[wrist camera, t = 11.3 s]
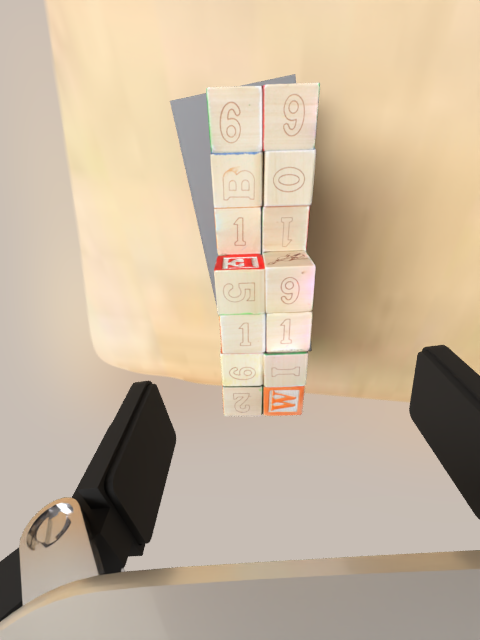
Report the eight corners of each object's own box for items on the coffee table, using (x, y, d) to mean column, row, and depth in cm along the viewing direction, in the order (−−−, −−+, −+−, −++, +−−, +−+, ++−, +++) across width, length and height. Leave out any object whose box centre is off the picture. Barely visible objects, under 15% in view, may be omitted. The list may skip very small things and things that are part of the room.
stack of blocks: (218, 113, 23) (197, 64, 12) (295, 110, 23) (343, 60, 12) (229, 337, 33) (222, 419, 22) (282, 336, 33) (302, 418, 22)
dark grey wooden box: (286, 89, 26) (295, 74, 22) (303, 329, 38) (311, 350, 34) (181, 111, 27) (169, 100, 23) (230, 339, 39) (229, 361, 35)
